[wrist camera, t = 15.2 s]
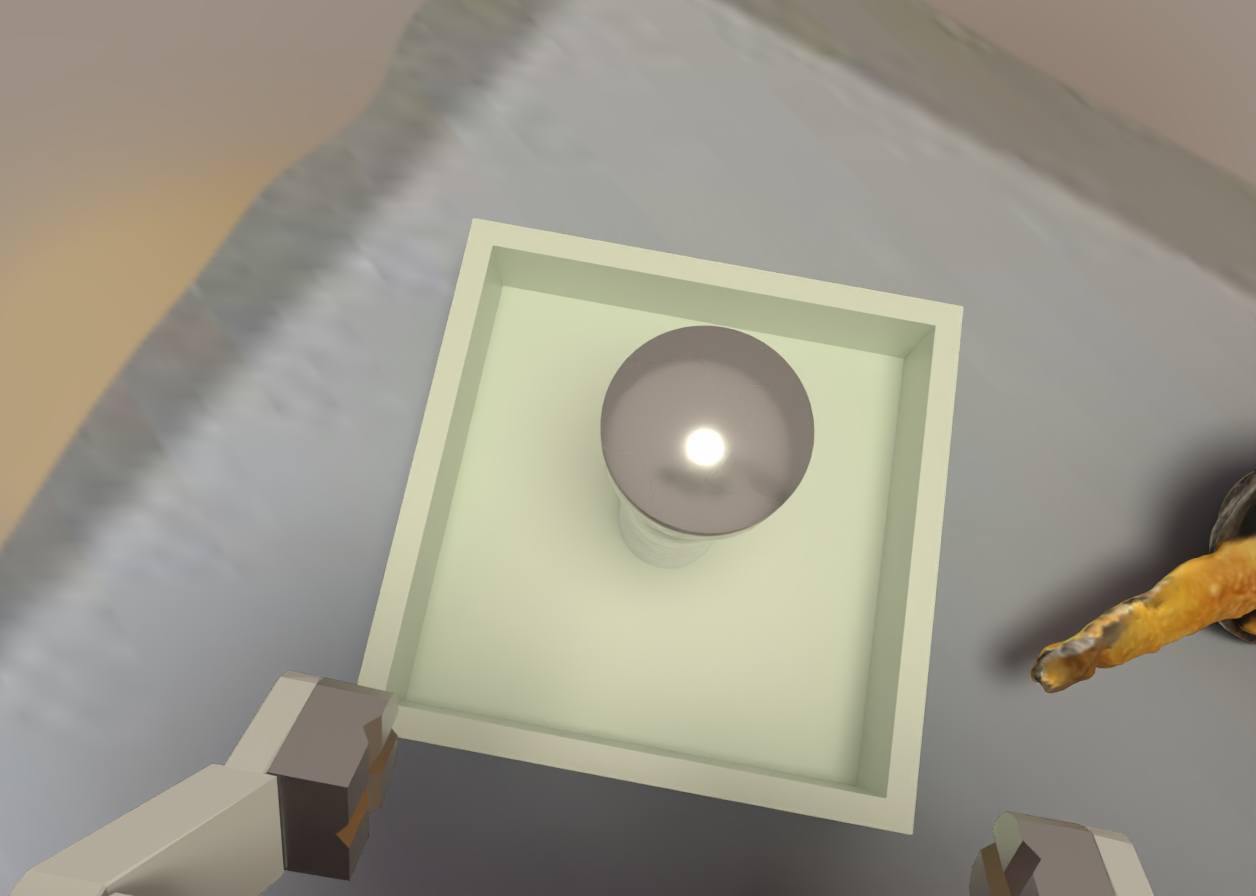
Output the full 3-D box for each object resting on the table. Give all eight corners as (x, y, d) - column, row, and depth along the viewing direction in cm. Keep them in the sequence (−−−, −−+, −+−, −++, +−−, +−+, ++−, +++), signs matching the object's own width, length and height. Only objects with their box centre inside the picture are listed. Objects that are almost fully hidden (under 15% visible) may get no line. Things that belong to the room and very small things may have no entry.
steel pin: (744, 466, 30) (827, 345, 19) (724, 599, 29) (799, 550, 18) (613, 442, 30) (621, 308, 19) (588, 573, 29) (581, 510, 18)
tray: (919, 351, 32) (963, 306, 28) (869, 813, 28) (912, 834, 25) (488, 272, 32) (473, 217, 29) (380, 721, 29) (346, 727, 25)
